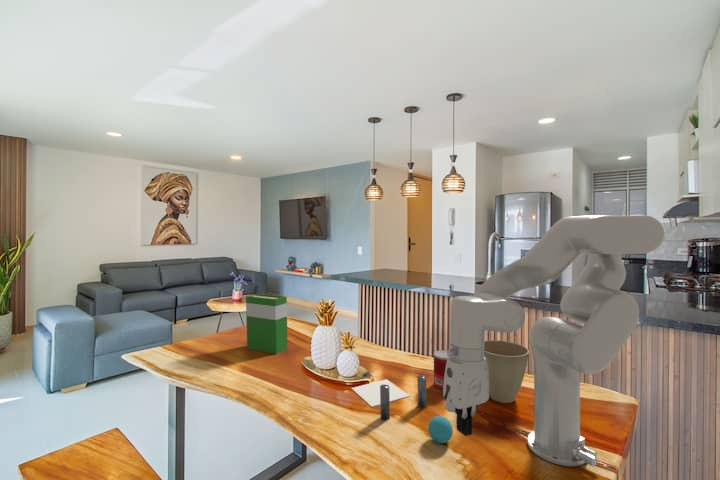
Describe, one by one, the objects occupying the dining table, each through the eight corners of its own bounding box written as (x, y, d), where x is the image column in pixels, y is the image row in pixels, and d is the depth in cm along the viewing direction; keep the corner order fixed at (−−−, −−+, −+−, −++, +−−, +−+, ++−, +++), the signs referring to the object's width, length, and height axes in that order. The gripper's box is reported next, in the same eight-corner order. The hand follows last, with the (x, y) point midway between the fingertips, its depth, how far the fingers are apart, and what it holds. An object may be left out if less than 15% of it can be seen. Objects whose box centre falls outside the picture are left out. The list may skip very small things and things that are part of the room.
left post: (391, 418, 98) (391, 387, 98) (383, 421, 97) (383, 389, 96) (386, 414, 100) (386, 383, 100) (378, 416, 99) (378, 385, 99)
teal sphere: (458, 443, 86) (457, 420, 86) (439, 451, 83) (439, 426, 83) (441, 431, 91) (441, 409, 91) (423, 438, 88) (423, 415, 88)
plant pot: (503, 414, 99) (503, 359, 99) (467, 392, 113) (467, 343, 112) (540, 403, 105) (540, 351, 105) (502, 383, 119) (502, 337, 118)
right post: (428, 407, 104) (428, 377, 104) (421, 409, 103) (421, 379, 102) (422, 403, 106) (422, 374, 106) (416, 405, 105) (415, 376, 105)
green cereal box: (247, 348, 159) (245, 296, 158) (258, 343, 166) (257, 293, 165) (276, 354, 151) (275, 299, 150) (287, 348, 157) (286, 296, 157)
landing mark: (409, 396, 111) (409, 395, 111) (371, 407, 104) (371, 406, 104) (386, 379, 123) (386, 379, 123) (351, 388, 117) (351, 388, 117)
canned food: (459, 392, 113) (458, 358, 113) (434, 390, 115) (433, 357, 114) (457, 381, 121) (457, 350, 120) (433, 380, 122) (433, 349, 122)
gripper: (452, 362, 71) (450, 450, 72) (503, 352, 78) (500, 432, 78) (429, 351, 78) (427, 431, 78) (477, 342, 85) (475, 416, 85)
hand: (464, 432), depth 78 cm, fingers closed
